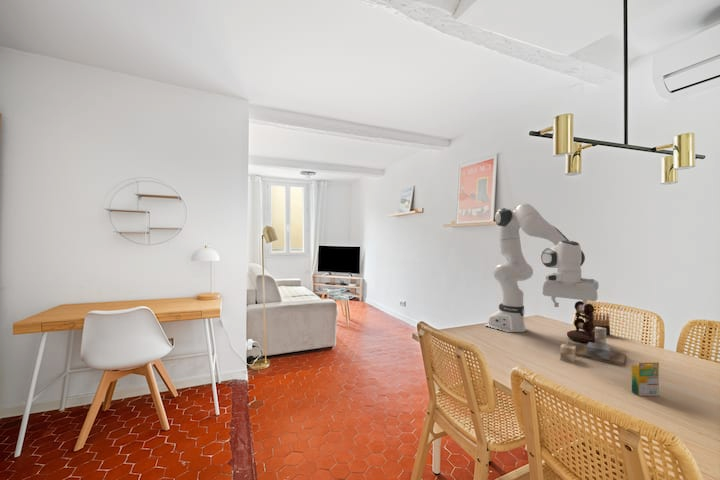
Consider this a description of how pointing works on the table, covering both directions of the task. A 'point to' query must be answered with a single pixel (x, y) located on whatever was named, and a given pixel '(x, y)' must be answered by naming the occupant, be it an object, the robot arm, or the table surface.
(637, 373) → the crayon box
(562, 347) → the maple block
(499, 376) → the table surface
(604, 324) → the ammunition clip
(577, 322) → the dark brown rounded figure
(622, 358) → the building board
